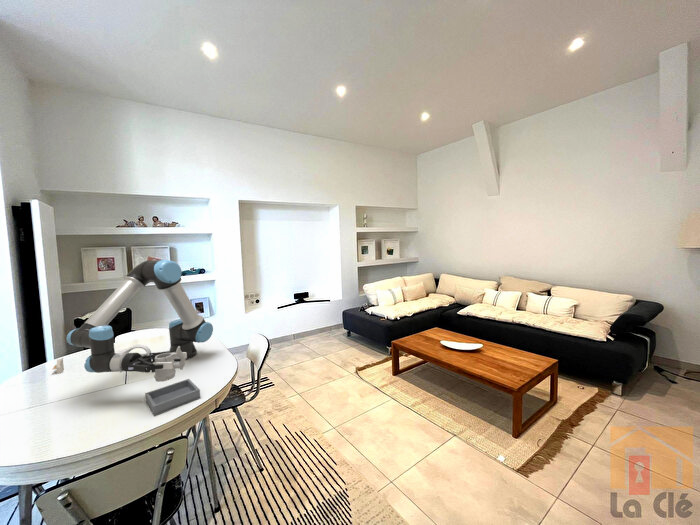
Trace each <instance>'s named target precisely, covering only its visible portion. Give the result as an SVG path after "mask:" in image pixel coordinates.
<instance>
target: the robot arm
mask: <svg viewBox="0 0 700 525" xmlns="http://www.w3.org/2000/svg"><path fill="white" fill-rule="evenodd" d="M182 273H183V271H182V268H181V266H180V265H179V263H177V262H176V261H173V260H169V259H160V260H155V259H154V260H153V259H151V260H144V261H142V262H140V263H138V265H136V266H135V267H133V269H131V270H130V271H129V272H128V273H127V274H126V275H125V276H124V278H123V279H124V281H123V282H121V284H120V285H118V287H117V288H116V289H115V290H113V292H112V294H110V295H109V296H108V297H107V299H105V300H104V302H102V304H101V305H100V306H99V307H98V308H97V309H96V310H95V311H94V312H93V313H92V314H91V315H90V316H89V318H87V320H86V321H84V323H82V324H81V326H80V327H77V328H75V329H73V330H71V331H69V332H68V334H67V336H66V342H67V344H69V345H70V346H73V347H78V348H85V349H87V348H88V349H90V355H89V356H87V358H86V359H85V363H84V365H83V366H84V370H85V371H86V372H88V373H96V374H97V373H98V374H100V373H101V374H102V373H111V372H112V373H116V372H117V373H118V372H119V373H122V372H129V373H130V372H137V373H138V372H139V373H147V374H148V373H150V372H151V373H155V369H156V370H160V369H172V368H173V364H172V362H156V363H155V356H157V355H159V354H163V353H172V354H173V353H176V350H177V348H178V346H180V350H181V352H182V354H183V355H184V357H185V361H187V360H189V358H190V359H191V357H192V358H194V357H196V355H198V354H197V353H198V352H197V348H196V346H195V344H194V343H198V344H199V343H205V342H208V340H209V339H211V337H212V335H213V332H214V327H213V324H212V323H211V322H208V321H207V322H206V320H205V318H204V316H203V315H201V314H200V315H199V314H198V312H197V309H195V306H194V305H193V303H192V301H191V299H190V298H189V296H188V294H187V292H186V291H185V289H184V287H183V285H182V283H181V282H182ZM150 283H154V285H155V286H156V288H157V290H159V291H163V293H164V294H165V296H166V299H167V300H168V301H169V303H170V305H171V306H172V307H173V309H174V311H175V313H176V314H177V315H178V317H179V318H178V319H174V320H171V321H170V322H169V323H168V324H169V325H168V330H169V332H168V333H169V341H170V342H169V343H170V347H169V350H167V351H159V352H158V351H157V352H151V353H149V355H147V354H145V355H141V354H140V353H139V352H129V353H115V351H116V350H115V337H114V335H115V334H114V331H113V327H112V326H111V325H109V324H110V322H112V320H113V319H115V317H116V316H117V315H118V314H119V313H120V311H121V310H122V309H123V308H124V307H125V306H126V305H127V304H128V303H129V302H130V300H131V299H132V298H133V297H134V296H135V295H136V293H137V292H138V291H139V290H140V289H144V288H145V287H146V286H147V285H148V284H150ZM193 356H194V357H193ZM173 359H174V362H180V357H179V356H177V355H176V356H173ZM154 363H155V364H154Z"/></svg>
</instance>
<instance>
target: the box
mask: <svg viewBox="0 0 700 525" xmlns="http://www.w3.org/2000/svg"><path fill="white" fill-rule="evenodd" d="M144 393H145V394H144V397H145V403H146V405H147V407H148V408H149V410H150V412H151V414H152V415H153V417H155V416H159V415H161V414H164V413H167V412H168V411H171V410H174V409H177V408H179V407H182V406H184V405H187V404H189V403H192V402H194V401H196V400H199V398H200V399H201V390H200V388H199V387H198V386H197V385H196V384H195V383H194V382H193V381H192V380H191V379H190V378H187V379H184V380H181V381H178V382H175V383H172V384H168V385H166V386H163V387H159V388H157V389H156V388H155V389H154V390H150V391H148V392H144Z"/></svg>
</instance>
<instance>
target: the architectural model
mask: <svg viewBox="0 0 700 525" xmlns="http://www.w3.org/2000/svg"><path fill="white" fill-rule="evenodd" d="M53 370H56V375H60V374H63V372H64V370H65V367H64V357H61V358H59V359H56V364H54V366H53V368H52V371H53Z"/></svg>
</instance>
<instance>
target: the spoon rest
mask: <svg viewBox="0 0 700 525" xmlns="http://www.w3.org/2000/svg"><path fill="white" fill-rule="evenodd" d="M134 349H143V350H144V351H145V352H146V355H149V353H152V351H151V348H149V347H148V346H146V345H144V344H136V345H132V346H130V347H128V348H124V349H121V350H115V353H131V352H132V350H134Z"/></svg>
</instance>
